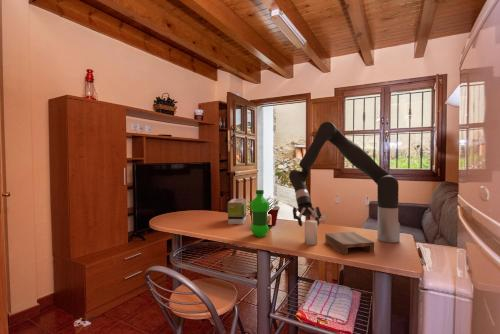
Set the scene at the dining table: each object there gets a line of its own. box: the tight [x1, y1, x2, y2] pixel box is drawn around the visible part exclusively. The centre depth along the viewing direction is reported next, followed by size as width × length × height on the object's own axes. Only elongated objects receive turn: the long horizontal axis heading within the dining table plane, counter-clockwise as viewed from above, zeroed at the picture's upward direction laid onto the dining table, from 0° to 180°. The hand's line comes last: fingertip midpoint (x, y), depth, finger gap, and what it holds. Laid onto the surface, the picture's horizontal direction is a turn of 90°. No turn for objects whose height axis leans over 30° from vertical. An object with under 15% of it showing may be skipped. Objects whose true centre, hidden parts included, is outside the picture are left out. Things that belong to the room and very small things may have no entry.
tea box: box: [227, 198, 247, 226], centre depth 174 cm, size 15×10×15 cm
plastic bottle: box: [249, 189, 270, 238], centre depth 143 cm, size 10×10×25 cm
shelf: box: [324, 231, 375, 256], centre depth 123 cm, size 15×17×4 cm
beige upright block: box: [304, 219, 318, 246], centre depth 129 cm, size 6×6×11 cm
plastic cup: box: [268, 205, 280, 227], centre depth 165 cm, size 11×11×12 cm
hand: (309, 225), depth 132 cm, fingers open, 8 cm apart
